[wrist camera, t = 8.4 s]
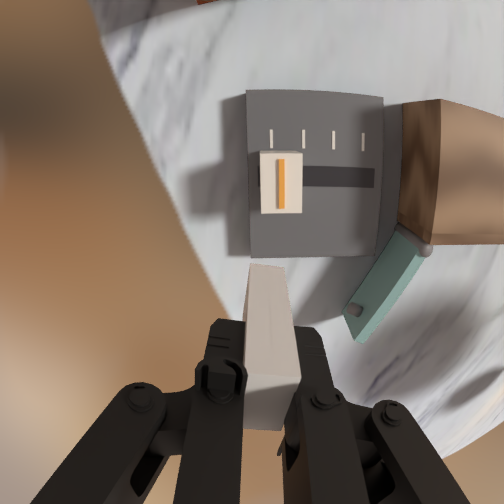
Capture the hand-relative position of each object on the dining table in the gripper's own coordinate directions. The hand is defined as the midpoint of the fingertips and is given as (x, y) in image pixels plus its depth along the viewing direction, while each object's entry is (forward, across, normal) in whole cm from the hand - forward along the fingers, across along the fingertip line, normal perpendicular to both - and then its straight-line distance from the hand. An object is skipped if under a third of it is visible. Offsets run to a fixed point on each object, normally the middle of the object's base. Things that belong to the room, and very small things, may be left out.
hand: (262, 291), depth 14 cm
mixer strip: (+16, +4, +4) cm, 17 cm away
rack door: (+15, +13, -5) cm, 20 cm away
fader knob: (+14, +1, +3) cm, 14 cm away
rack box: (+16, +19, +8) cm, 26 cm away
